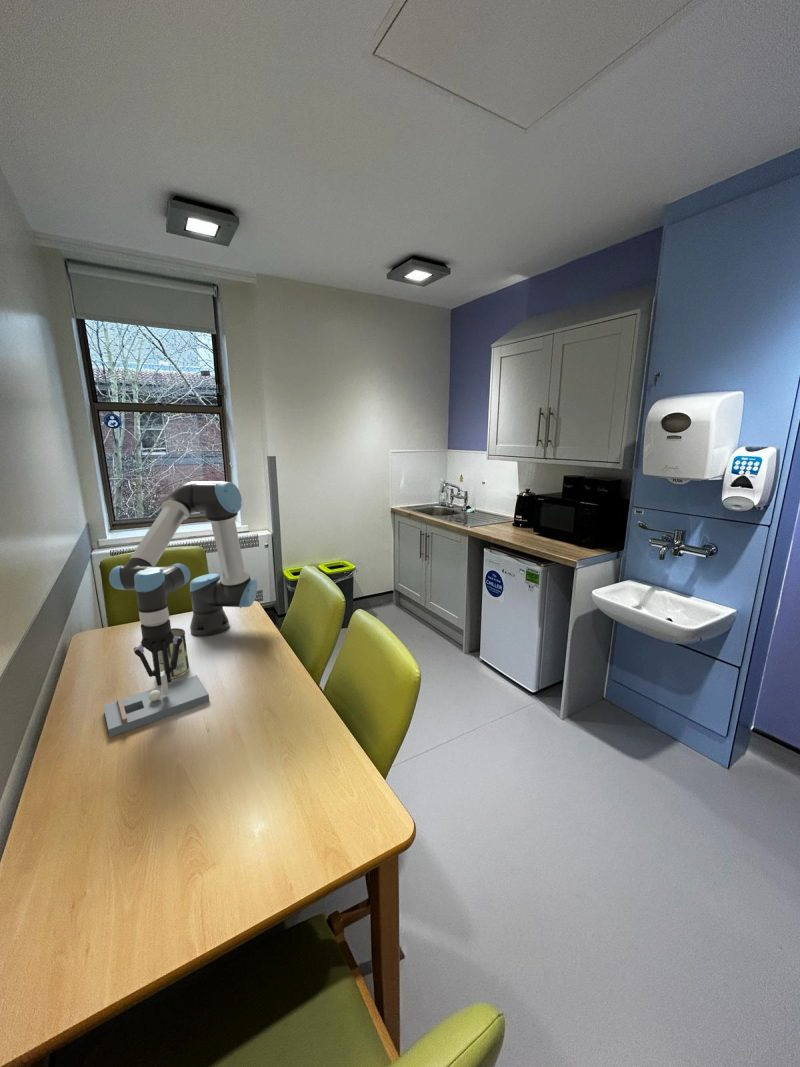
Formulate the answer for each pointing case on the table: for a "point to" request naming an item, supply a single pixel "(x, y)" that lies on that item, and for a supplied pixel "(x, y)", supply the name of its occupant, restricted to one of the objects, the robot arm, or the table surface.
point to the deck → (154, 705)
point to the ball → (155, 695)
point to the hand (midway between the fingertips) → (165, 692)
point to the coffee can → (182, 655)
